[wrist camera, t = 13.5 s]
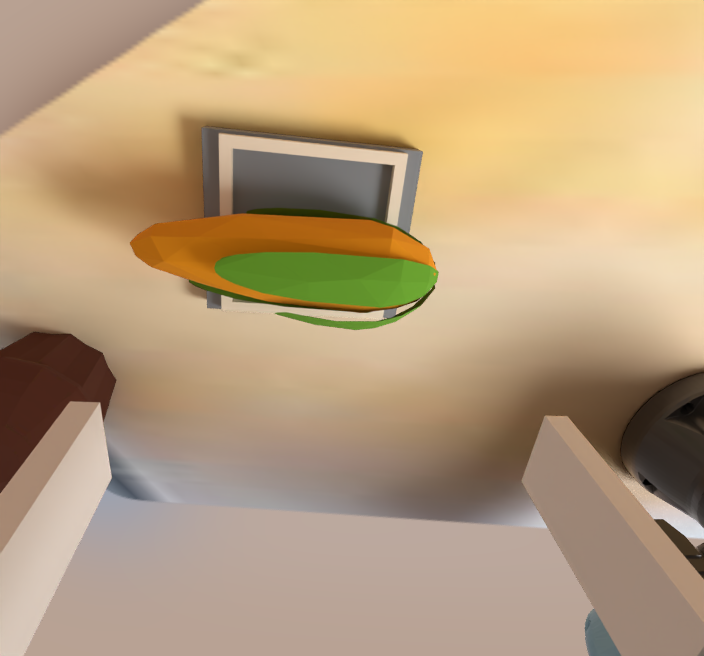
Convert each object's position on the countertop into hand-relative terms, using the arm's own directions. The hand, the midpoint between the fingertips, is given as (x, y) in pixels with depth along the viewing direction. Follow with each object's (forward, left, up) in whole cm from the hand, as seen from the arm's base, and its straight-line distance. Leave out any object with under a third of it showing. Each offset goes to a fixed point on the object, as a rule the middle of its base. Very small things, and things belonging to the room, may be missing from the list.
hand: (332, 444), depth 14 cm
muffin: (-14, +20, -25) cm, 35 cm away
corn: (-1, +1, -22) cm, 22 cm away
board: (0, 0, -24) cm, 24 cm away
